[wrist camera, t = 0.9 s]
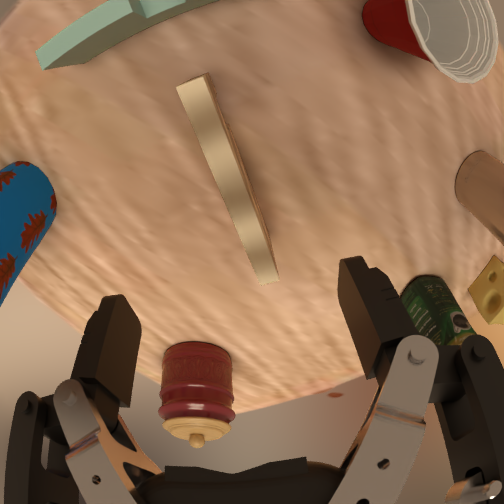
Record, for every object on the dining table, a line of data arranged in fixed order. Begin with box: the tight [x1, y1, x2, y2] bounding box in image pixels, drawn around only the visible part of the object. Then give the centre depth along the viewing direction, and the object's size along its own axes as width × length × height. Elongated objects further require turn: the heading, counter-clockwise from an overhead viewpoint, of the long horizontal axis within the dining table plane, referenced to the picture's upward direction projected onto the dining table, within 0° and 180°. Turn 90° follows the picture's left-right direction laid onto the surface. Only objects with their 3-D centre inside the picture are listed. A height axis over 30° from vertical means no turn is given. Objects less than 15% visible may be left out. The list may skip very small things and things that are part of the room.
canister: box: [158, 342, 235, 448], centre depth 44 cm, size 13×13×18 cm
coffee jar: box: [401, 276, 476, 345], centre depth 38 cm, size 10×8×19 cm
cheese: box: [468, 256, 504, 325], centre depth 43 cm, size 10×11×10 cm
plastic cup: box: [362, 0, 498, 84], centre depth 15 cm, size 11×11×12 cm
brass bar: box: [176, 73, 280, 286], centre depth 26 cm, size 20×2×8 cm, turn 18°
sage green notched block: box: [35, 0, 219, 70], centre depth 15 cm, size 20×2×8 cm, turn 108°
